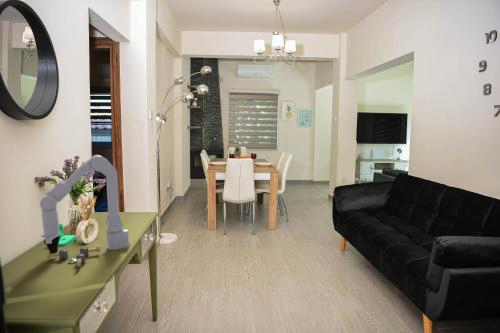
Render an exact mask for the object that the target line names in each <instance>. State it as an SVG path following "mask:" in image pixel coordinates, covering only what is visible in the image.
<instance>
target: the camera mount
mask: <svg viewBox="0 0 500 333" xmlns="http://www.w3.org/2000/svg"><path fill="white" fill-rule="evenodd" d="M59 231H60V235H59V236H61V238H60V240H59V244H58V247H64V246H67V245H69V244H74V241H75V240H77V235H76V234H72V235H71V234H69V235H67V234H66V235H65V234H64V232H63V231H64V226H63V223H59Z"/></svg>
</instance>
